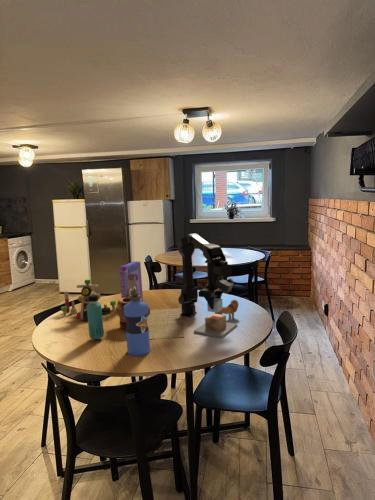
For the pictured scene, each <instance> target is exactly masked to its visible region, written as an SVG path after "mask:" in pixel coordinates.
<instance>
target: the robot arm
mask: <svg viewBox="0 0 375 500" xmlns="http://www.w3.org/2000/svg"><path fill="white" fill-rule="evenodd" d="M195 247H196V248H197V249H198V250H200V251H201V252H202V256H203V257H204V259H206V260H204V263H205V264H206V270H207V271H206V276H205V279H206V280H207V284H206V286H205V287H204V288H202V289H200V290H199V291H198V287H196V286H195V284H194V273H193V270H194V269H193V259H192V258H193V254H194V252H195V249H196V248H195ZM177 249H178V253H179V254H180V256H181V257H182V258H181V260H182V262H181V263H182V274H183V275H182V277H183V284H182V285H183V286H182V287H181V289H180V294H179V297H178V299H177V301H178V304H179V305H181V313H180V316H184V317H192V316H194V315H195V314H197V311H196V303H198V298H199V297H200V298H204V299H205V300H206V304H207V303H208V305H209V306H210V308H211V309H214V298H220V299H222V296H223V294H224V293H229V292H232V288H233V287H234V280H233V278H229V277H231V276H232V273H233V268H232V267H231V265H230V264H229V263H228V261H227V258H226V256H225V254H224V251H223V249H222V247H221V246H220V245H218V244H215V243H209V241H207V240H205V239H204V238H203V237H202V236H200V235H199V234H198V233H189V234H187V235H186V236H184V237H182V238H181V239H179V240H178V241H177ZM223 278H225V279H223Z"/></svg>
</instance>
